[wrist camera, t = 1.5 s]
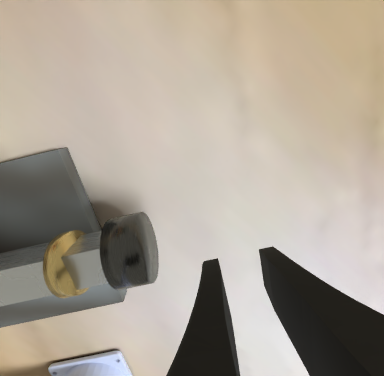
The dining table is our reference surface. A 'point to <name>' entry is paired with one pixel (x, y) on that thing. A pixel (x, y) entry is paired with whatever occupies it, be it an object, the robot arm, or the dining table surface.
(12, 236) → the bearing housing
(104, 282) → the shaft
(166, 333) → the dining table surface
